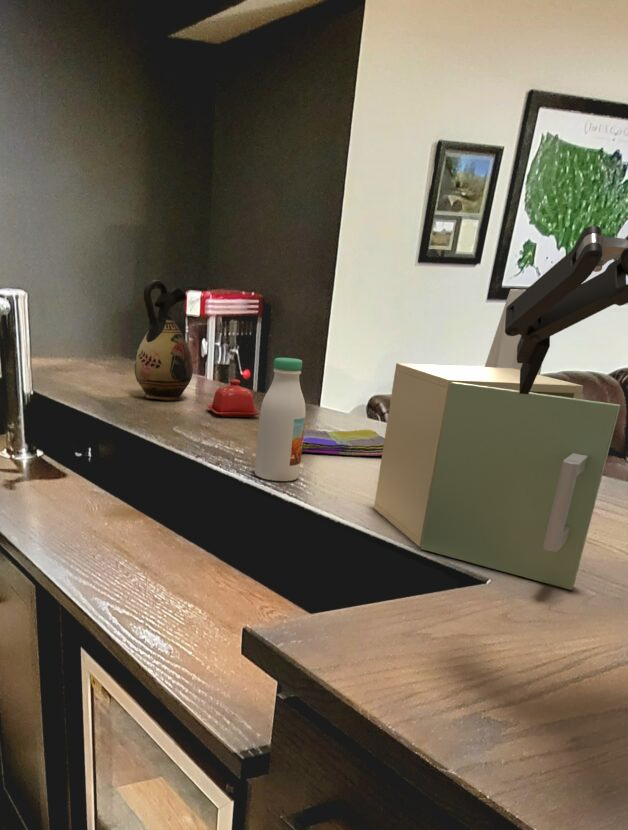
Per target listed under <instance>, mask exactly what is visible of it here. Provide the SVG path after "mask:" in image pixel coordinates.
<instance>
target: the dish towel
mask: <svg viewBox="0 0 628 830" xmlns="http://www.w3.org/2000/svg"><path fill="white" fill-rule="evenodd" d="M384 440H385V437H383V436H382V435H380V434H378V433H377V432H376V430H375V431H374V430H372V429H359V430H356V429H355V430H347V431H345V430H342V431H340V430H338V431H337V430H333V431H327V430H315V429H308V428H304V436H303V445H302V453H317V454H327V455H342V456H343V455H344V456H345V455H346V456H364V457H365V456H366V457H371V456H372V457H374V456H375V457H382V453H383V446H384Z"/></svg>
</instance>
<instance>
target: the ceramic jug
mask: <svg viewBox="0 0 628 830" xmlns="http://www.w3.org/2000/svg"><path fill="white" fill-rule="evenodd" d="M156 289H157V290H160V294H159V296H158V297H157V299H156V300H155V302H154V303H153V299H152V291H153V290H156ZM186 300H187V295H186V293H185V291H183V290H182V289H181V288H180V287H179V286H175V287H174V288H173V287H170V288H169V289H168V286H167V284H165V282H163V281H161V280H159V279H151V280H149V281H148V282H146V283H145V286H144V288H143V301H144V305H145V309H146V312H147V318H148V320H149V321H148V323H149V326H148V331H147V332H146V334H145V335H144V337H143V339H142V340H141V342H140V344H139V347H138V348H137V352H136V355H135V360H134V376H135V380H136V382H137V383H138V385H139V386H140V387H141V390H142V391H143V392H144V393H145V398H146V399H154V400H161V401H181V396H182V395H183V393H184V392H185V390H186V389H187V388H188V386H189V384H190V383H191V380H192V378H193V372H194V365H193V357H192V354H191V350H190V347H189V345H188V343H187V341H186V339H185V337H184V335H183V333H182V331H181V330H180V327H179V326H178V324H177V323H176V321H175V320H174V318H173V313H172V309H173V308H174V307H175V306H177V305H179V304H181V303H183V302H185V301H186ZM154 307H157V308H158V313H157V315H156V312H155V309H154ZM136 401H137V400H136Z"/></svg>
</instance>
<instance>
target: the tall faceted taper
mask: <svg viewBox="0 0 628 830" xmlns="http://www.w3.org/2000/svg"><path fill="white" fill-rule="evenodd" d="M525 290H526V289H519V288H517V289H516V288H510V290H509V292H508V295H507V298H506V301H505V304H504V306H503V309H502V312H501V315H500V319H499V322H498V325H497V328H496V331H495V334H494V337H493V340H492V343H491V345H490V349H489V352H488V356H487V358H486V361H485V364H484V367H495V368H513V369H517V370H520V369H521V367H522V364H523V363H518V362H517V345H518V343H519V340H520V338H521V335H520V334H518V335H516V336H508V335H506V333H505V320H506V308H507V306H508V305H509V304H511V303H512V302H513V301H514V300H515V299H516V298H517V297H519V296H520V295H521V294H522V293H523V292H524V291H525ZM542 367H543V364H542V365H541V367H540V369H539V372H538V375H541V372H542Z"/></svg>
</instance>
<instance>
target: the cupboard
mask: <svg viewBox="0 0 628 830" xmlns="http://www.w3.org/2000/svg"><path fill="white" fill-rule="evenodd" d="M452 382H457V383H465V384H472V385H479V386H487V387H494V388H501V389H509V390H516V391H519V389H520V370H517V369H513V368H495V367H485V366H472V365H450V364H449V365H448V364H447V365H446V364H429V363H428V364H426V363H425V364H423V363H405V362H404V363H403V362H396V363H395V370H394V375H393V383H392V389H391V394H390V395H391V396H390V402H389V408H388V414H387V421H386V427H385V433H384V438H385V440H384V446H383V453H382V456H381V460H380V466H379V473H378V478H377V479H378V480H377V485H376V486H377V487H376V492H375V500H374V506H373V509H374V510H375V511H376V512H378V513H379V514H380V515H381V516H382V517H383V518H385V519H386V520H387V521H388V522H389V523H390V524H392V525H393V527H395V528H396V529H398V530H399V531H400V532H401V533H402V534H403V535H405V537H407V538H408V539H409V540H411V541H412V542H413V543H414V544H415V545H417V546H418V547H419V548H421V546H422V540H423V534H424V529H425V523H426V518H427V512H428V507H429V501H430V495H431V490H432V484H433V479H434V473H435V468H436V462H437V456H438V451H439V445H440V440H441V434H442V429H443V423H444V417H445V412H446V406H447V401H448V395H449V390H450V384H451V383H452ZM583 389H584V385H582V384H579V383H578V384H577V383H574V382H569V381H567V380H562V379H557V378H555V377H550V376H545V375H541V374H540V375H538V374H537V376H536V378H535V381H534V383H533V385H532V387H531V390H530V392H531V393H538V394H545V395H553V396H560V397H567V398H575V399H581V398H582V394H583Z"/></svg>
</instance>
